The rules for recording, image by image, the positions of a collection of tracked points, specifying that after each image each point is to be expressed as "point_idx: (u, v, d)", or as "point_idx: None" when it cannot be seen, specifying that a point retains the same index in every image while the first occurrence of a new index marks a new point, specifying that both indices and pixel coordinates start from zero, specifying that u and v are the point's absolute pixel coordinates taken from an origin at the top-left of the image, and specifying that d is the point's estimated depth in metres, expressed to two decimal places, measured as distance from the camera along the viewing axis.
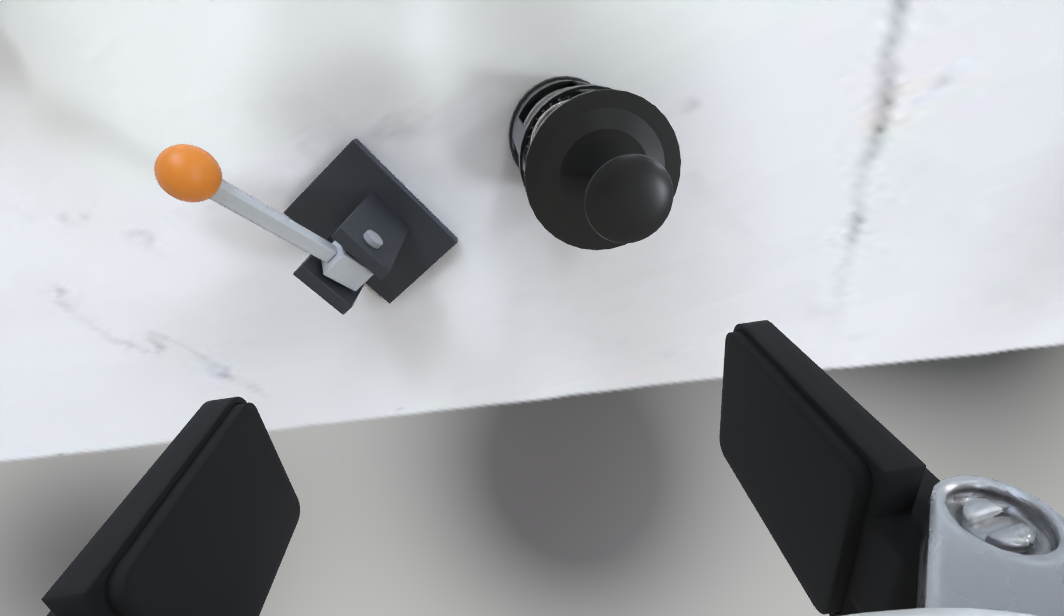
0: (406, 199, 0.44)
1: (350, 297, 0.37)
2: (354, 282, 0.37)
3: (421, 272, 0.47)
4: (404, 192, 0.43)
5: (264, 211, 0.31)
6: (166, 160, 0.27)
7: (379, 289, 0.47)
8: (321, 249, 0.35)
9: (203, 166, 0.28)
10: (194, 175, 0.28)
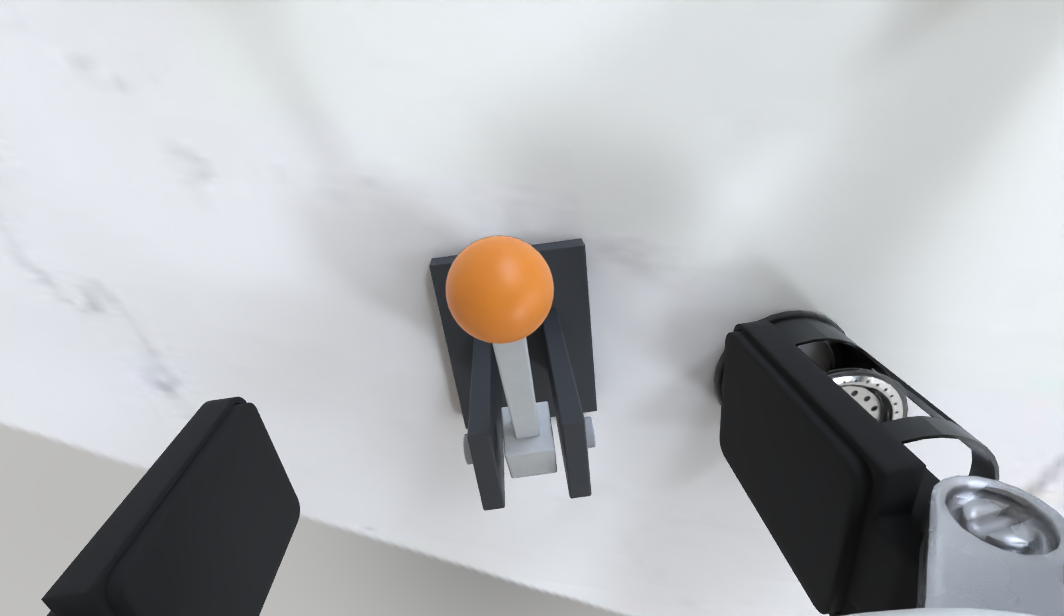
0: (585, 339, 0.32)
1: (503, 486, 0.24)
2: (524, 472, 0.23)
3: None
4: (589, 331, 0.31)
5: (530, 372, 0.18)
6: (511, 277, 0.13)
7: (468, 408, 0.33)
8: (530, 427, 0.21)
9: (547, 308, 0.15)
10: (531, 321, 0.14)
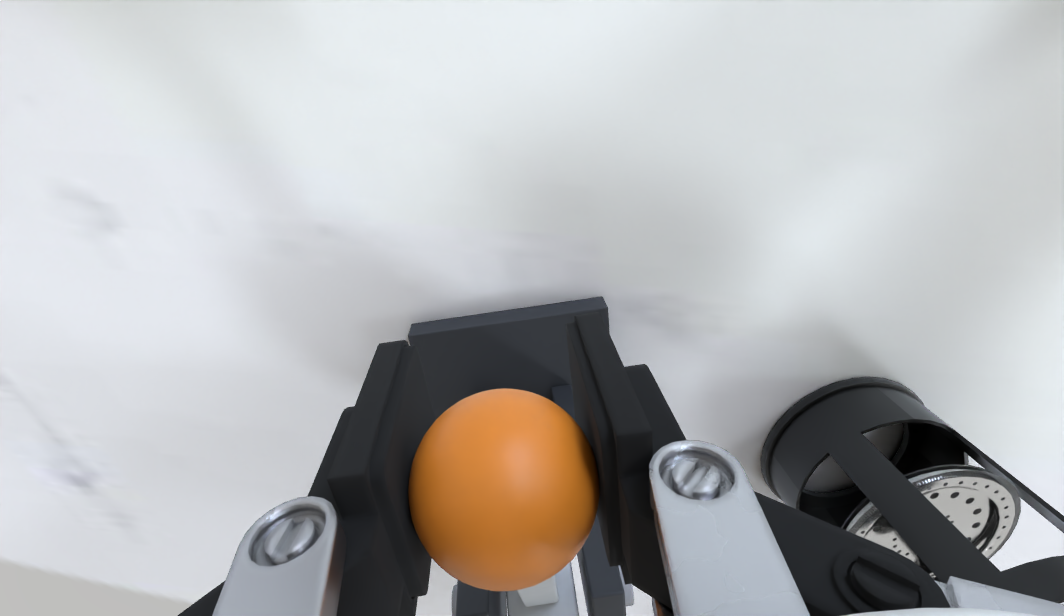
0: None
1: None
2: None
3: None
4: None
5: None
6: (529, 500, 0.07)
7: None
8: (545, 598, 0.15)
9: (591, 527, 0.08)
10: (564, 563, 0.08)
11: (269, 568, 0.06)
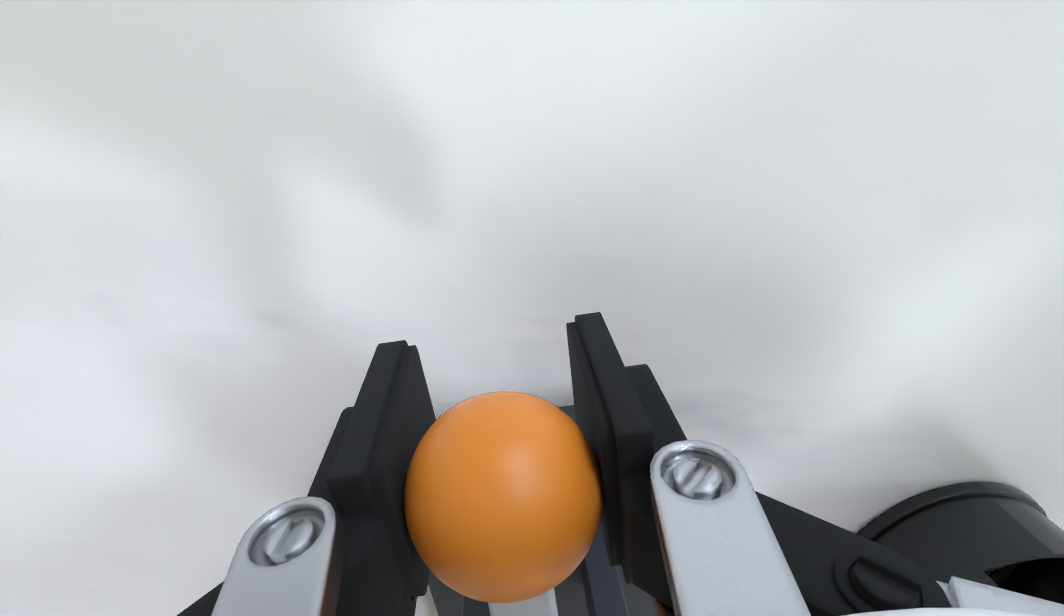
0: None
1: None
2: None
3: None
4: None
5: None
6: (521, 441, 0.07)
7: None
8: None
9: (593, 520, 0.07)
10: (562, 541, 0.07)
11: (267, 568, 0.06)
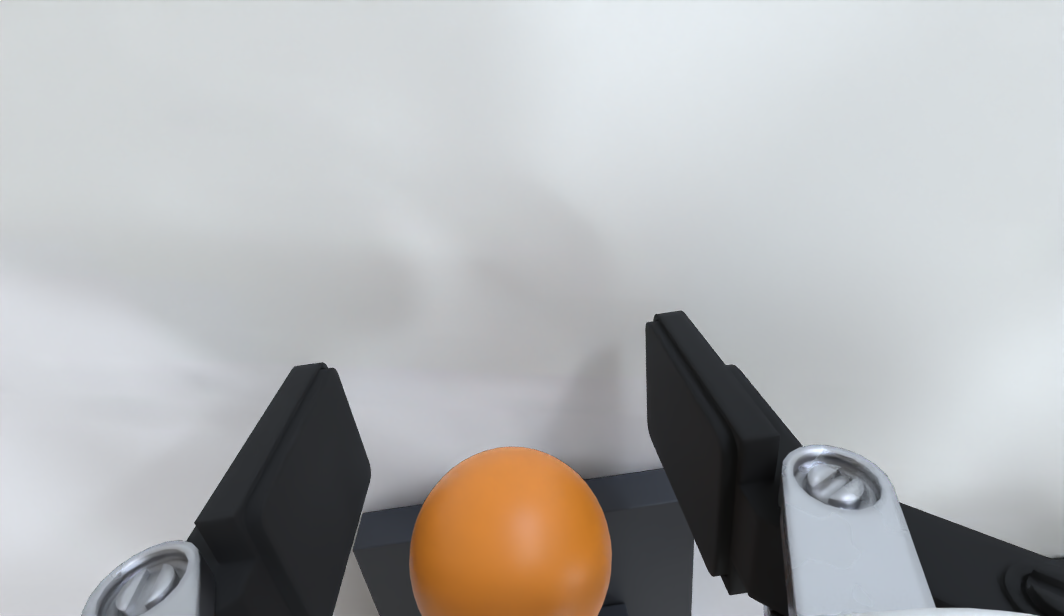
0: None
1: None
2: None
3: None
4: None
5: None
6: (526, 477, 0.07)
7: None
8: None
9: (601, 570, 0.07)
10: (567, 582, 0.07)
11: None
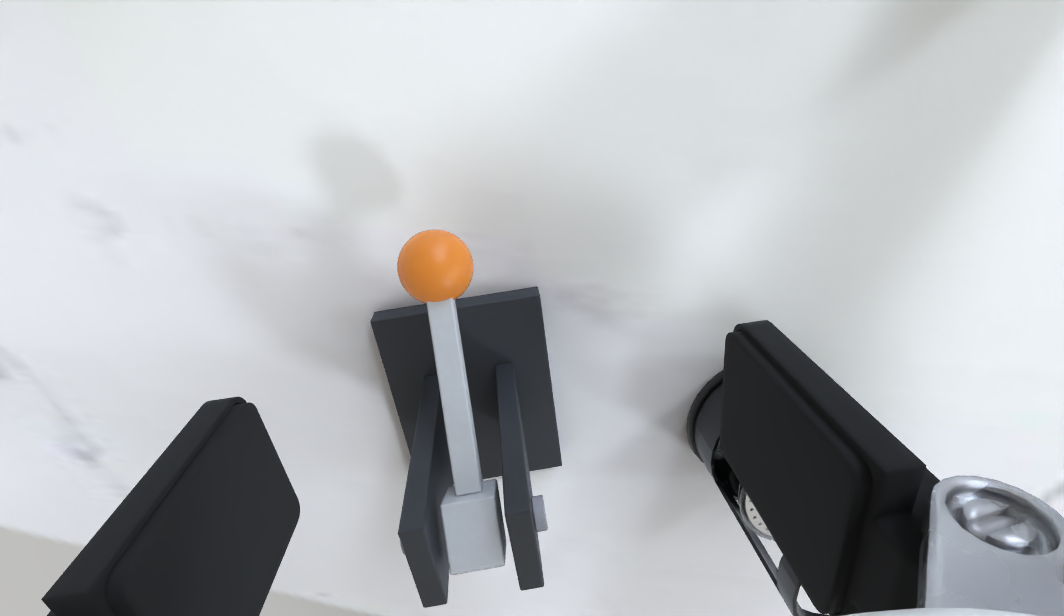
0: (546, 392, 0.29)
1: (446, 576, 0.21)
2: (464, 557, 0.20)
3: (491, 475, 0.32)
4: (549, 384, 0.29)
5: (461, 363, 0.21)
6: (438, 231, 0.21)
7: None
8: (469, 468, 0.21)
9: (464, 262, 0.21)
10: (450, 258, 0.20)
11: None
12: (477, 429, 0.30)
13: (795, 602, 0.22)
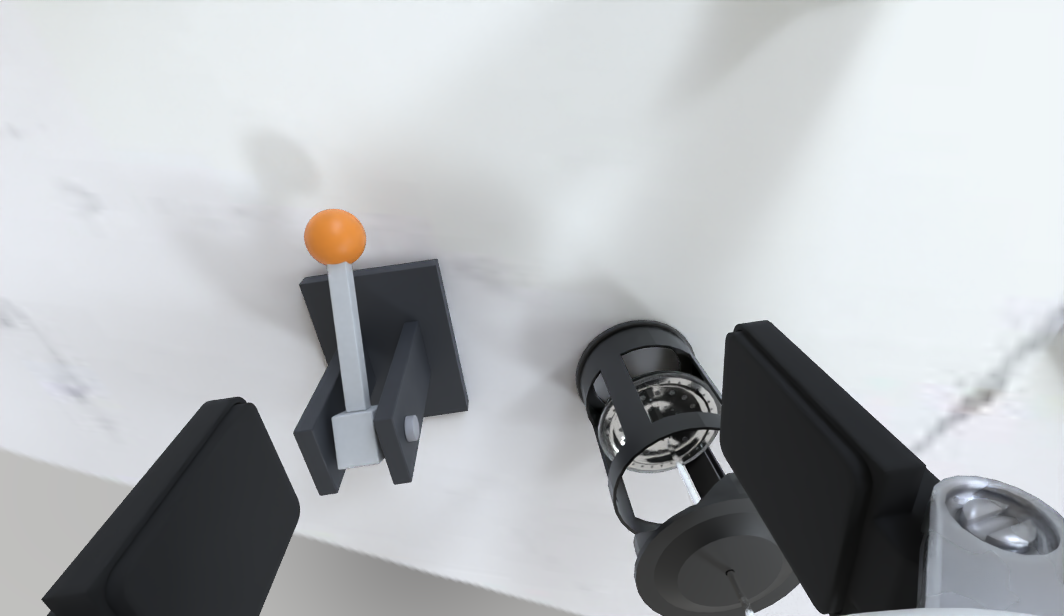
0: (448, 347, 0.36)
1: (340, 475, 0.28)
2: (348, 456, 0.26)
3: None
4: (451, 340, 0.35)
5: (352, 311, 0.27)
6: (335, 210, 0.27)
7: None
8: (356, 392, 0.27)
9: (354, 233, 0.27)
10: (341, 230, 0.27)
11: None
12: None
13: (615, 504, 0.29)
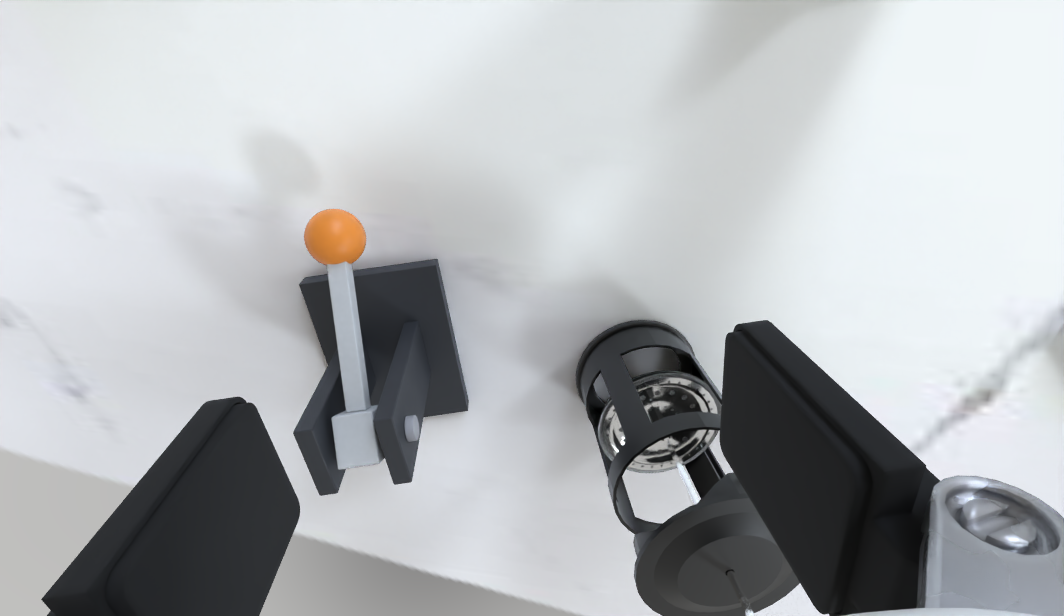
0: (448, 347, 0.36)
1: (340, 475, 0.28)
2: (348, 456, 0.26)
3: None
4: (451, 340, 0.35)
5: (352, 311, 0.27)
6: (335, 210, 0.27)
7: None
8: (356, 392, 0.27)
9: (354, 233, 0.27)
10: (341, 230, 0.27)
11: None
12: None
13: (615, 504, 0.29)
